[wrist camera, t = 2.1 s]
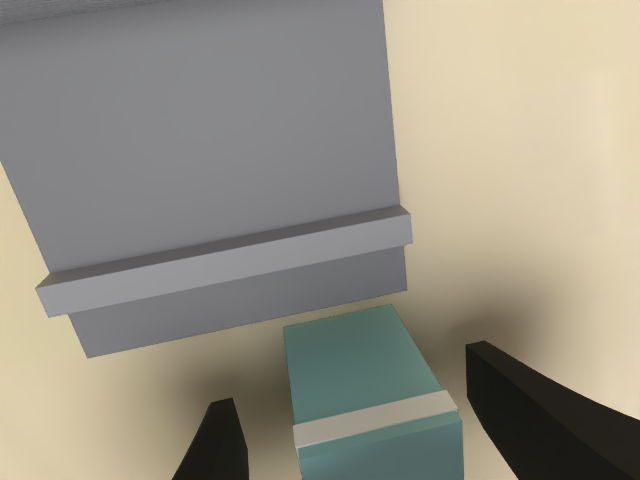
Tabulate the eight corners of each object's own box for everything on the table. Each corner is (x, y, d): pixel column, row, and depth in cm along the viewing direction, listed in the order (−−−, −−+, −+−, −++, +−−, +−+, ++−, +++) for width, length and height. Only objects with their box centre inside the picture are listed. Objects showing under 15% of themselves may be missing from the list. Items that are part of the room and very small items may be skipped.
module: (402, 401, 15) (468, 544, 11) (302, 424, 15) (325, 582, 10) (392, 301, 14) (464, 418, 9) (281, 326, 13) (296, 458, 9)
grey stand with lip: (396, 275, 13) (417, 304, 12) (99, 337, 13) (76, 377, 11) (358, -125, 9) (380, -167, 8) (-71, -69, 9) (-146, -103, 7)
